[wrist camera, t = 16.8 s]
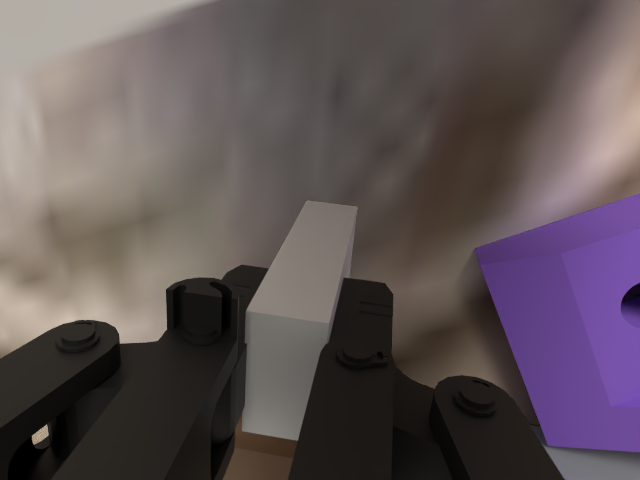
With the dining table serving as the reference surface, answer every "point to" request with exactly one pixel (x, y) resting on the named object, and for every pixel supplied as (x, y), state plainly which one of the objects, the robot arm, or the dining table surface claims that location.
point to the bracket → (575, 322)
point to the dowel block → (260, 456)
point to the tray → (592, 462)
